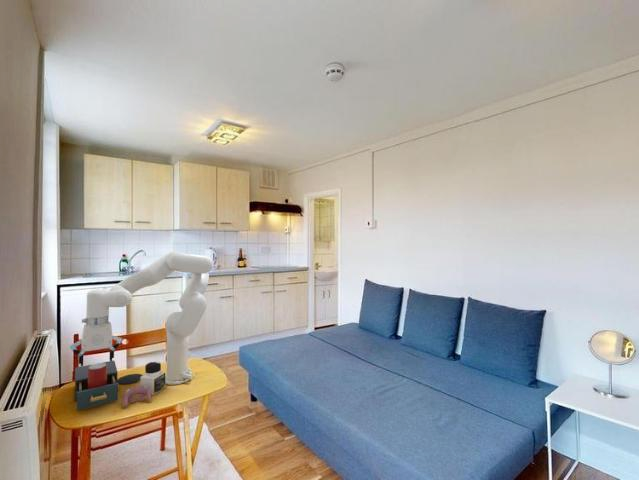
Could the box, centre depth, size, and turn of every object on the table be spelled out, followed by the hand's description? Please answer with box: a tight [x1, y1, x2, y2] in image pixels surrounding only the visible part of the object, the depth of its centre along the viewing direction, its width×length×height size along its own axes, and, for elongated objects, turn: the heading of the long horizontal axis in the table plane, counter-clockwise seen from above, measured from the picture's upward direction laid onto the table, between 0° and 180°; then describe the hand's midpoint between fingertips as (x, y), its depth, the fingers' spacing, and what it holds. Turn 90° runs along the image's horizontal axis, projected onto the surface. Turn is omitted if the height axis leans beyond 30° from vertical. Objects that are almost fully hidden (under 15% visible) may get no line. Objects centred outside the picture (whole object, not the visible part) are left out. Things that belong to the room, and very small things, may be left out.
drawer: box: [76, 374, 119, 411], centre depth 129 cm, size 19×13×7 cm
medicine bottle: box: [139, 361, 166, 396], centre depth 140 cm, size 7×7×12 cm
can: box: [88, 362, 107, 389], centre depth 130 cm, size 6×6×13 cm
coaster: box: [117, 373, 144, 386], centre depth 150 cm, size 10×10×1 cm
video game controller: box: [122, 385, 152, 409], centre depth 130 cm, size 10×5×7 cm, turn 123°
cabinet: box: [74, 359, 119, 402], centre depth 140 cm, size 16×15×9 cm
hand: (96, 362), depth 130 cm, fingers open, 9 cm apart
